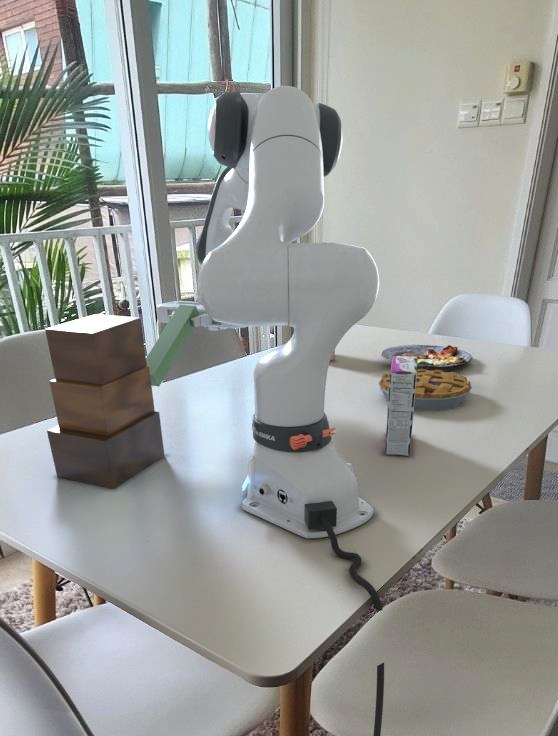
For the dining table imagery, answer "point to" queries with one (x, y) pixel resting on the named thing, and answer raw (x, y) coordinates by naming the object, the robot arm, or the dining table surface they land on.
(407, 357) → the candy bar box
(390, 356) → the food plate
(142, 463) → the block stack
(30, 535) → the dining table surface
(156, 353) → the green bar
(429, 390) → the pie
